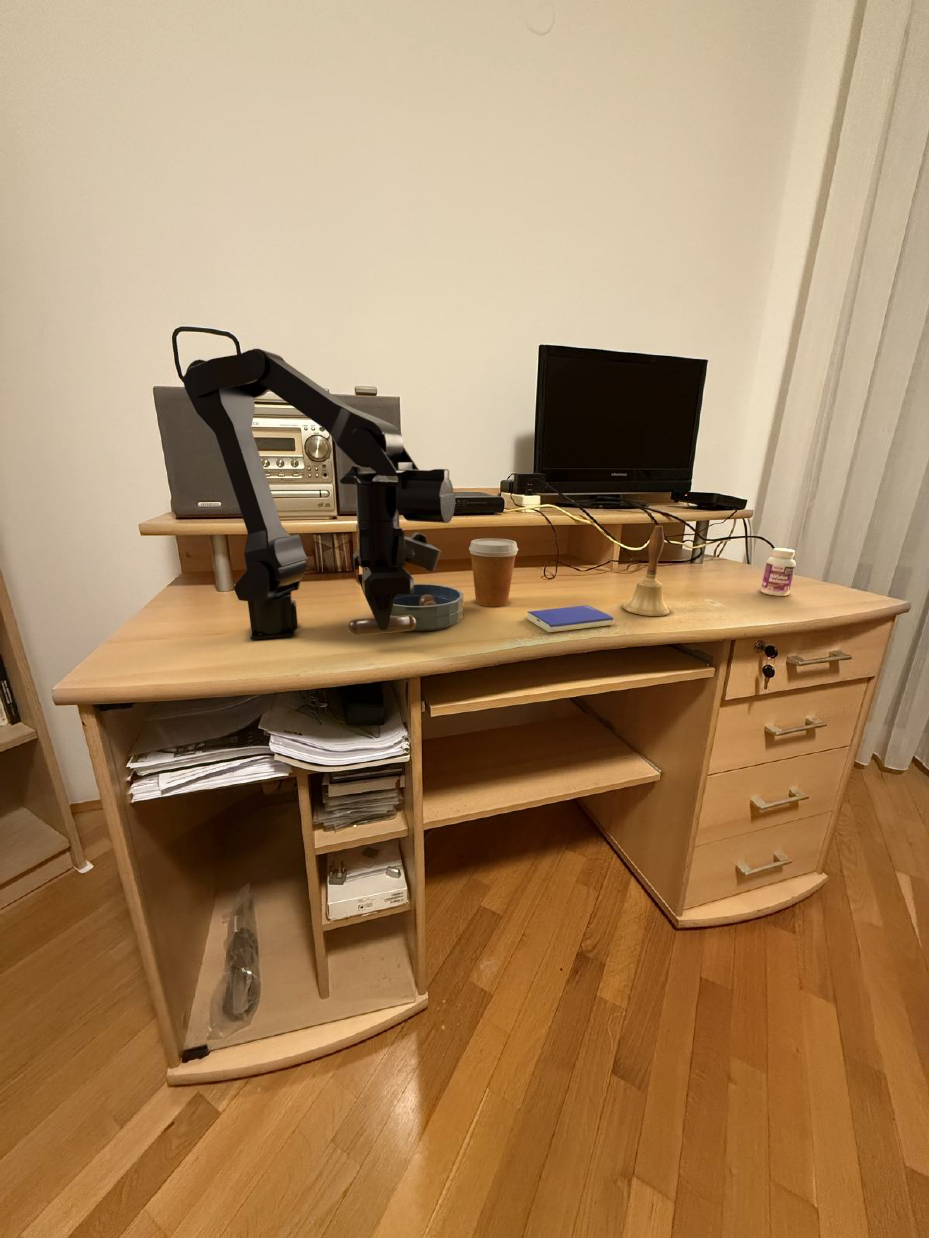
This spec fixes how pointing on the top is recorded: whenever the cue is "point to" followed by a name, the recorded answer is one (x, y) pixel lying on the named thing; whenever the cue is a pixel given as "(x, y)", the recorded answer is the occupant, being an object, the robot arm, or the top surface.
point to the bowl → (435, 615)
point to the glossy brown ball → (426, 599)
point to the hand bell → (650, 582)
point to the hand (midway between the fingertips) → (382, 626)
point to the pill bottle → (779, 572)
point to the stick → (371, 627)
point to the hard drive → (569, 618)
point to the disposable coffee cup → (492, 569)
